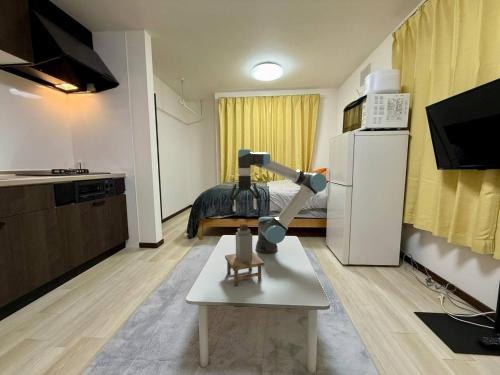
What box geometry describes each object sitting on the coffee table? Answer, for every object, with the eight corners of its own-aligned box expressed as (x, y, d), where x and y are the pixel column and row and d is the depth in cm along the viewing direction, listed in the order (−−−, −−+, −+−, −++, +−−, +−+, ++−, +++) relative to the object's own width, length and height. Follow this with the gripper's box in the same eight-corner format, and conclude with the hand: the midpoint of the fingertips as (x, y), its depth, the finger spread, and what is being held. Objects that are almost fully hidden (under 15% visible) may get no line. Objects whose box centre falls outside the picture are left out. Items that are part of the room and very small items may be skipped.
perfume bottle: (235, 257, 117) (235, 224, 115) (247, 255, 119) (247, 223, 118) (240, 262, 111) (239, 227, 109) (252, 260, 113) (252, 226, 111)
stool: (252, 267, 126) (252, 251, 125) (264, 281, 112) (264, 262, 111) (225, 272, 120) (224, 255, 120) (234, 287, 106) (233, 267, 105)
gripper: (260, 174, 140) (260, 207, 142) (222, 175, 131) (223, 210, 133) (265, 174, 133) (265, 209, 135) (226, 176, 124) (227, 213, 126)
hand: (244, 210), depth 134 cm, fingers open, 13 cm apart
